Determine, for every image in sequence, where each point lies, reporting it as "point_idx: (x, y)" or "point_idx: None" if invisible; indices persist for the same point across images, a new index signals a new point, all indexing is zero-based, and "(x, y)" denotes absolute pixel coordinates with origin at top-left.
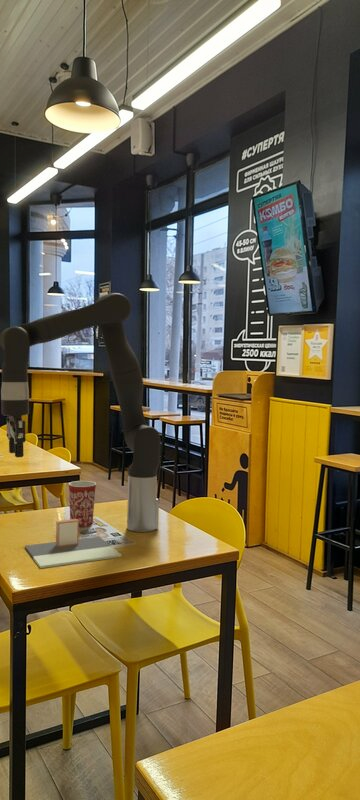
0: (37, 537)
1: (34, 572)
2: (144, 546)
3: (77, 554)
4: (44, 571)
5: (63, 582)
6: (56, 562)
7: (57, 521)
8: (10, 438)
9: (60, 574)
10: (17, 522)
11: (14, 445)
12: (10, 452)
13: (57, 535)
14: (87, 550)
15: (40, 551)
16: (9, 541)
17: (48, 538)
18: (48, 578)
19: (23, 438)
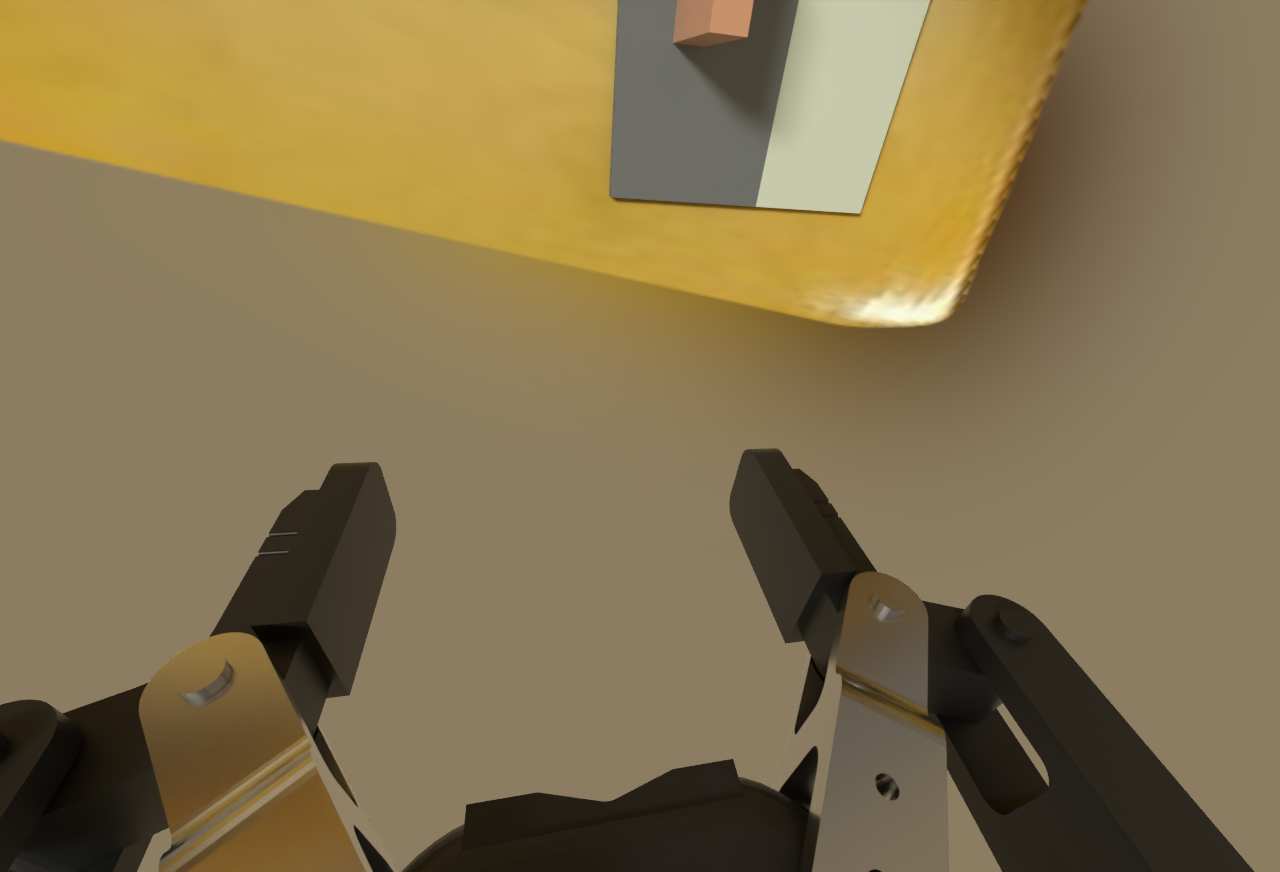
0: (463, 75)
1: (871, 241)
2: None
3: None
4: (887, 207)
5: (1006, 180)
6: (870, 140)
7: (725, 29)
8: (308, 725)
9: (949, 163)
10: (74, 85)
11: (355, 567)
12: (395, 527)
13: (716, 42)
14: None
15: (718, 157)
16: (491, 234)
17: (501, 15)
18: (944, 215)
19: (1036, 667)
